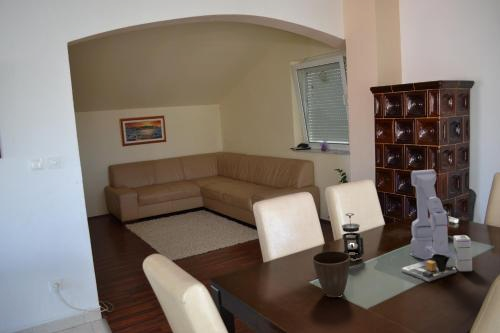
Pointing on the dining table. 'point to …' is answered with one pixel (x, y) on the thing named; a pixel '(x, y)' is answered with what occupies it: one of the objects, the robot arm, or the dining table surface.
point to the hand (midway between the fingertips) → (441, 271)
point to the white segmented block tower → (463, 253)
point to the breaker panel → (416, 266)
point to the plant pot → (332, 271)
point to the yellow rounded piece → (430, 265)
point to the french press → (352, 246)
